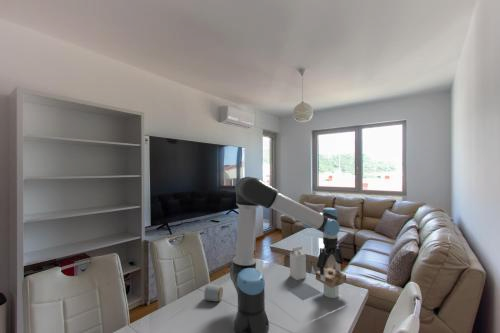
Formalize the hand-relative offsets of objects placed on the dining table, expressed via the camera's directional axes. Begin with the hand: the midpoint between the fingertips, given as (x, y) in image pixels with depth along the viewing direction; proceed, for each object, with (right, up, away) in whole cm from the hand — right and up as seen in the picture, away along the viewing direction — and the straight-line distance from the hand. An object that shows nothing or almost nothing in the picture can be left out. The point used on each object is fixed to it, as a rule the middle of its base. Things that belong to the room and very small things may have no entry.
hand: (330, 277), depth 130 cm
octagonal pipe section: (0, -9, 0) cm, 9 cm away
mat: (-14, -10, +4) cm, 17 cm away
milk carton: (-13, -10, +21) cm, 27 cm away
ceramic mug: (-62, -11, -2) cm, 63 cm away
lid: (0, -2, 0) cm, 2 cm away
